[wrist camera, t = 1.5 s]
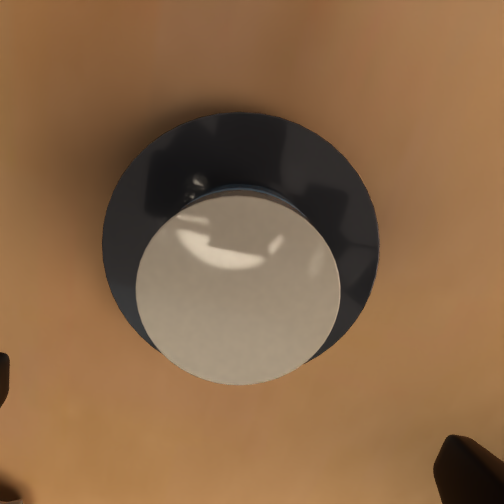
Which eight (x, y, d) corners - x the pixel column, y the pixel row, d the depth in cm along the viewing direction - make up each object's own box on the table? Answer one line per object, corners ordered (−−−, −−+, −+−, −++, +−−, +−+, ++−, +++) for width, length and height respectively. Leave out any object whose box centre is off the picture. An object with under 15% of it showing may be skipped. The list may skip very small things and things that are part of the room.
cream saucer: (284, 374, 16) (290, 409, 14) (129, 319, 15) (110, 348, 13) (358, 229, 14) (377, 244, 12) (186, 158, 13) (173, 160, 11)
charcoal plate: (305, 394, 20) (308, 409, 19) (82, 316, 19) (71, 328, 18) (419, 180, 17) (432, 183, 16) (158, 65, 15) (150, 58, 14)
